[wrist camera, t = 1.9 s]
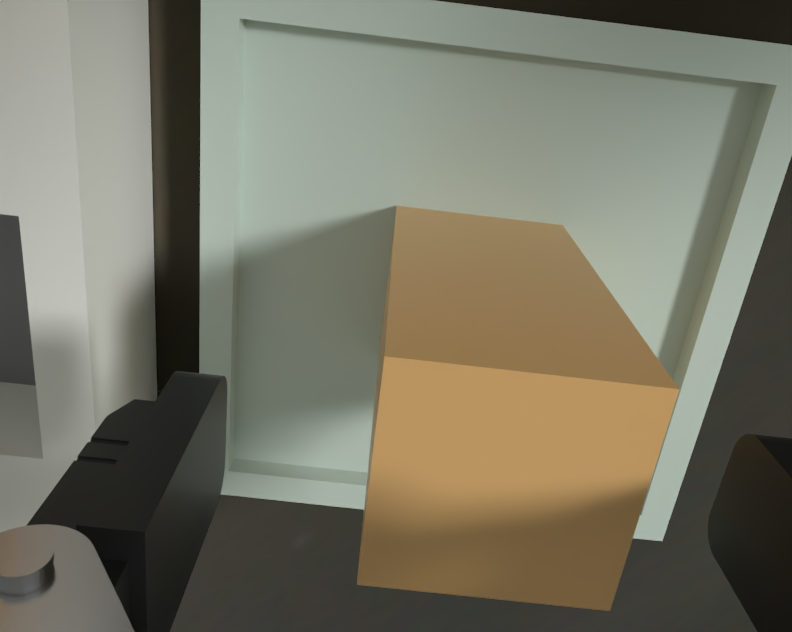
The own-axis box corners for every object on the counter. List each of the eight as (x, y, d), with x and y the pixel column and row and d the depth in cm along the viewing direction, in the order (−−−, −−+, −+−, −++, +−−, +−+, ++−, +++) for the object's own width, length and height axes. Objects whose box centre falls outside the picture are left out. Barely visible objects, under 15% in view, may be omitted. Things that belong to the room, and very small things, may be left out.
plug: (562, 225, 17) (679, 389, 9) (530, 372, 18) (609, 611, 11) (396, 205, 17) (383, 356, 9) (379, 355, 18) (356, 585, 11)
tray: (798, 47, 16) (826, 49, 15) (649, 513, 21) (662, 541, 20) (215, -26, 15) (200, -30, 14) (210, 465, 21) (198, 491, 19)
